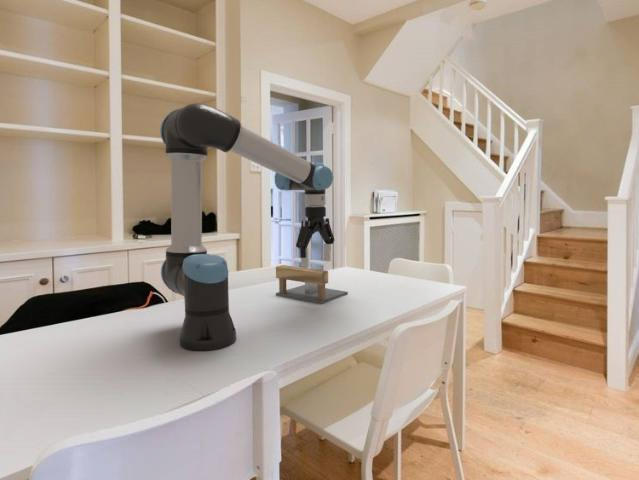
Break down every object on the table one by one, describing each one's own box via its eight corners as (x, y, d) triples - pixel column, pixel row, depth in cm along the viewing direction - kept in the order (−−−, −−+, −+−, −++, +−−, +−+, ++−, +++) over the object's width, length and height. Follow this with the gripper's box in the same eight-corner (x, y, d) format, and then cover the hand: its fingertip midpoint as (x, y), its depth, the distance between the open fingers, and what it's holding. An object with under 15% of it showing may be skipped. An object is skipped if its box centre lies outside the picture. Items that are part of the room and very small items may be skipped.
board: (320, 304, 153) (320, 285, 152) (275, 295, 166) (275, 278, 165) (347, 294, 167) (347, 276, 166) (304, 287, 180) (304, 270, 179)
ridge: (309, 296, 163) (309, 279, 162) (305, 296, 165) (304, 278, 164) (324, 291, 171) (324, 274, 170) (320, 291, 173) (320, 274, 172)
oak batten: (321, 285, 152) (320, 272, 152) (276, 277, 165) (275, 266, 165) (328, 282, 156) (328, 270, 155) (283, 276, 169) (283, 265, 168)
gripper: (301, 208, 141) (303, 270, 143) (343, 204, 161) (343, 259, 163) (284, 207, 145) (286, 268, 148) (327, 204, 165) (327, 257, 168)
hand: (316, 263), depth 156 cm, fingers open, 13 cm apart
